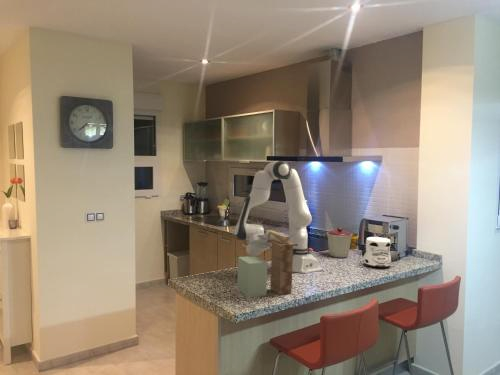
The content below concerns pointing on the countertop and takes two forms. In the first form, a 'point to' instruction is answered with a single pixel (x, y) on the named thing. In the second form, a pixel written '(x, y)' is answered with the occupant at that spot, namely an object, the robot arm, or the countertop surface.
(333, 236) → the canister
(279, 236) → the beech bar
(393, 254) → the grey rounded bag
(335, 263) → the countertop surface
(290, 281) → the walnut stand
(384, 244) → the white piece
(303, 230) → the robot arm
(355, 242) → the condiment
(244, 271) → the sage box
